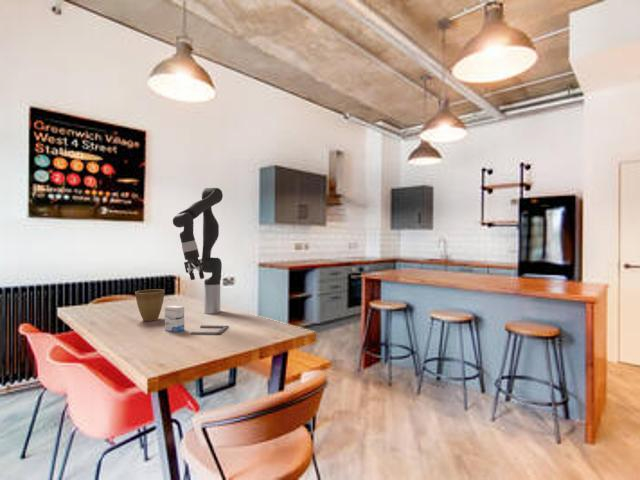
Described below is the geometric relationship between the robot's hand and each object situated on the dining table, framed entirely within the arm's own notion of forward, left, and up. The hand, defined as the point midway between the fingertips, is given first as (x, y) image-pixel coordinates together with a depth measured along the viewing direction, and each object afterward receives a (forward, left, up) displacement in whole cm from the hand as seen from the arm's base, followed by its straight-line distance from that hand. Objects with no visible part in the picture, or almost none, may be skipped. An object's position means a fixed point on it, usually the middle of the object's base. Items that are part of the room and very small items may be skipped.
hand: (197, 279), depth 194 cm
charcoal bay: (+16, +13, -23) cm, 31 cm away
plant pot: (-4, -28, -23) cm, 37 cm away
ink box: (+16, -5, -23) cm, 29 cm away
